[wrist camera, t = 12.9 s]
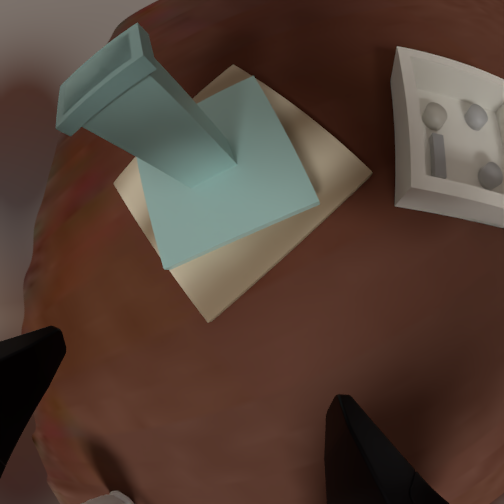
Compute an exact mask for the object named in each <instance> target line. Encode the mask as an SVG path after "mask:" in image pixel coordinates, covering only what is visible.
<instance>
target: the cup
mask: <svg viewBox="0 0 504 504" xmlns="http://www.w3.org/2000/svg"><path fill="white" fill-rule="evenodd" d="M81 504H135V503H134V502H133V501H132V500H131V499H130V498H129V497H127V496H126V495H124V494H122V493H121V492H119V491H111V492H110V495H103V496H100V497H97V498H93V499H91V500H88V501H86V502H84V503H81Z"/></svg>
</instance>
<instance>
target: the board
mask: <svg viewBox="0 0 504 504" xmlns="http://www.w3.org/2000/svg"><path fill="white" fill-rule="evenodd" d="M249 77H252V76H251V75H250V74H248V73H247V72H245V71H244V70H242V69H240V68H239V67H237V66H235V65H234V64H233V65H232V66H230V67H229V68H228V69H227V70H225V71H224V72H223V73H222V74H221V75H219V76H218V77H217V78H216V79H214V80H213V81H212V82H211V83H210V84H209V85H207V86H206V87H205V88H204V89H203V90H202V91H201V92H199V93H198V94H197V95H196V96H195V97H194V98H193V100H194V102H195V103H196V104H197V103H199V102H201V101H203V100H205V99H206V98H208V97H210V96H212V95H214V94H216V93H218V92H220V91H222V90H224V89H226V88H228V87H230V86H232V85H234V84H236V83H238V82H241V81H243V80H245V79H247V78H249ZM256 80H257V82H258V84H259V85H260V87H261V89H262V90H263V92H264V94H265V96H266V97H267V99H268V101H269V103H270V104H271V106H272V108H273V110H274V111H275V113H276V115H277V117H278V119H279V121H280V122H281V124H282V126H283V128H284V130H285V132H286V134H287V136H288V138H289V139H290V141H291V143H292V145H293V147H294V149H295V151H296V153H297V155H298V157H299V159H300V161H301V163H302V165H303V167H304V169H305V171H306V173H307V176H308V178H309V180H310V182H311V184H312V186H313V188H314V190H315V193H316V195H317V197H318V199H319V202H320V205H318V206H315V207H313V208H311V209H308V210H306V211H304V212H301V213H299V214H296V215H294V216H292V217H289V218H287V219H285V220H282V221H280V222H278V223H275V224H273V225H271V226H269V227H266V228H264V229H262V230H259V231H257V232H255V233H252V234H250V235H248V236H246V237H243V238H241V239H239V240H236V241H234V242H232V243H230V244H227V245H225V246H223V247H220V248H218V249H216V250H214V251H211V252H209V253H207V254H205V255H202V256H200V257H198V258H196V259H194V260H191V261H189V262H187V263H185V264H182V265H180V266H178V267H176V268H174V269H171V270H170V272H171V273H172V275H173V276H174V278H175V279H176V280H177V282H178V283H179V284H180V286H181V287H182V289H183V290H184V291H185V293H186V294H187V295H188V297H189V298H190V300H191V301H192V302H193V304H194V305H195V306H196V308H197V309H198V310H199V312H200V313H201V314H202V315H203V317H204V318H205V319H206V321H207V322H208V323H209V322H211V321H213V320H214V319H215V318H216V317H217V316H219V315H220V314H221V313H222V312H223V311H224V310H225V309H227V308H228V307H229V306H230V305H231V304H232V303H233V302H235V301H236V300H237V299H238V298H239V297H240V296H241V295H243V294H244V293H245V292H246V291H247V290H248V289H249V288H250V287H252V286H253V285H254V284H255V283H256V282H257V281H258V280H259V279H261V278H262V277H263V276H264V275H265V274H266V273H267V272H268V271H269V270H271V269H272V268H273V267H274V266H275V265H276V264H277V263H278V262H279V261H281V260H282V259H283V258H284V257H285V256H286V255H287V254H288V253H289V252H290V251H292V250H293V249H294V248H295V247H296V246H297V245H298V244H299V243H300V242H301V241H302V240H304V239H305V238H306V237H307V236H308V235H309V234H310V233H311V232H312V231H313V230H314V229H315V228H317V227H318V226H319V225H320V224H321V223H322V222H323V221H324V220H325V219H326V218H327V217H328V216H329V215H330V214H332V213H333V212H334V211H335V210H336V209H337V208H338V207H339V206H340V205H341V204H342V203H343V202H344V201H345V200H346V199H347V198H348V197H350V196H351V195H352V194H353V193H354V192H355V191H356V190H357V189H358V188H359V187H360V186H361V185H362V184H363V183H364V182H365V181H366V180H367V179H368V178H369V177H370V176H371V175H372V173H373V172H372V171H371V170H370V169H369V168H368V167H367V166H366V165H365V164H364V163H363V162H361V161H360V160H359V159H358V158H357V157H356V156H355V155H354V154H353V153H352V152H351V151H349V150H348V149H347V148H346V147H345V146H344V145H343V144H342V143H340V142H339V141H338V140H337V139H336V138H335V137H334V136H332V135H331V134H330V133H329V132H328V131H326V130H325V129H324V128H323V127H322V126H320V125H319V124H318V123H317V122H315V121H314V120H313V119H312V118H310V117H309V116H308V115H306V114H305V113H304V112H303V111H301V110H300V109H299V108H297V107H296V106H295V105H293V104H292V103H291V102H289V101H288V100H287V99H285V98H284V97H282V96H281V95H280V94H278V93H277V92H275V91H274V90H272V89H271V88H270V87H268V86H267V85H265V84H264V83H262V82H261V81H259V80H258V79H256ZM113 184H114V185H115V187H116V189H117V190H118V192H119V194H120V195H121V197H122V199H123V200H124V202H125V204H126V205H127V207H128V208H129V210H130V212H131V213H132V215H133V216H134V218H135V220H136V221H137V223H138V224H139V226H140V227H141V229H142V230H143V232H144V234H145V235H146V237H147V238H148V240H149V241H150V243H151V244H152V246H153V247H154V249H155V250H156V252H157V253H158V255H159V256H160V254H159V250H158V247H157V243H156V239H155V236H154V232H153V228H152V224H151V220H150V216H149V212H148V208H147V204H146V200H145V196H144V191H143V187H142V182H141V178H140V173H139V168H138V163H137V158H136V157H135V158H134V159H133V160H132V161H131V163H130V164H129V165H128V166H127V167H126V168H125V170H124V171H123V172H122V173H121V175H120V176H119V177H118V178H117V179H116V181H115V182H114V183H113Z"/></svg>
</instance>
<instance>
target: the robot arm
mask: <svg viewBox="0 0 504 504" xmlns="http://www.w3.org/2000/svg"><path fill="white" fill-rule="evenodd" d="M65 354H66V345H65V341H64V338H63V334H62V331H61V330H60V329H59V328H56V327H54V326H48V327H45V328H42V329H39V330H36V331H33V332H29V333H26V334H23V335H20V336H17V337H14V338H11V339H7V340H4V341H1V342H0V478H1V475H2V473H3V471H4V469H5V467H6V466H5V465H6V464H7V462H8V460H9V458H10V456H11V454H12V452H13V450H14V448H15V446H16V444H17V442H18V440H19V438H20V436H21V434H22V432H23V430H24V428H25V427H26V425H27V423H28V421H29V419H30V418H31V416H32V414H33V412H34V411H35V409H36V407H37V406H38V404H39V402H40V400H41V399H42V397H43V395H44V394H45V392H46V391H47V389H48V387H49V385H50V383H51V381H52V379H53V377H54V375H55V373H56V371H57V369H58V367H59V365H60V363H61V361H62V360H63V358H64V356H65ZM324 461H325V477H326V494H327V504H449V503H448V502H447V501H446V500H444V499H443V498H442V497H441V496H440V495H439V494H438V493H437V492H436V491H434V490H433V489H432V488H431V487H430V486H429V485H428V483H427V482H426V481H425V480H424V479H423V478H422V477H421V476H420V475H419V474H418V473H417V472H415V469H414V468H413V467H412V466H411V465H410V464H409V463H408V461H407V460H406V459H405V458H404V457H403V456H402V455H401V454H400V452H399V451H398V450H397V449H396V448H395V447H394V446H393V444H392V443H391V442H390V441H389V440H388V439H387V438H386V436H385V435H384V434H383V433H382V432H381V431H380V429H379V428H378V427H377V426H376V425H375V424H374V423H373V421H372V420H371V419H370V418H369V417H368V416H367V414H366V413H365V412H364V411H363V410H362V409H361V407H360V406H359V405H358V404H357V403H356V402H355V400H354V399H353V398H352V397H351V396H350V395H342V394H338V395H336V396H335V398H334V399H333V401H332V403H331V405H330V407H329V409H328V411H327V414H326V432H325V455H324Z"/></svg>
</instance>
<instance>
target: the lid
mask: <svg viewBox="0 0 504 504" xmlns="http://www.w3.org/2000/svg"><path fill="white" fill-rule="evenodd" d="M81 127H83V128H85V129H87V130H89V131H91V132H93V133H95V134H96V135H98V136H100V137H102V138H104V139H105V140H107V141H109V142H111V143H113V144H114V145H116V146H118V147H120V148H122V149H123V150H125V151H127V152H129V153H130V154H132V155H134V156H136V158H137V163H138V168H139V173H140V178H141V182H142V187H143V191H144V196H145V200H146V204H147V208H148V212H149V216H150V220H151V224H152V228H153V232H154V236H155V239H156V243H157V247H158V250H159V254H160V257H161V261H162V264H163V268H164V269H166V270H171V269H174V268H176V267H178V266H180V265H182V264H185V263H187V262H189V261H191V260H194V259H196V258H198V257H200V256H202V255H205V254H207V253H209V252H211V251H214V250H216V249H218V248H220V247H223V246H225V245H227V244H230V243H232V242H234V241H236V240H239V239H241V238H243V237H246V236H248V235H250V234H252V233H255V232H257V231H259V230H262V229H264V228H266V227H269V226H271V225H273V224H275V223H278V222H280V221H282V220H285V219H287V218H289V217H292V216H294V215H296V214H299V213H301V212H304V211H306V210H308V209H311V208H313V207H315V206H318V205H320V202H319V199H318V197H317V195H316V193H315V190H314V188H313V186H312V184H311V182H310V180H309V178H308V176H307V173H306V171H305V169H304V167H303V165H302V163H301V161H300V159H299V157H298V155H297V153H296V151H295V149H294V147H293V145H292V143H291V141H290V139H289V138H288V136H287V134H286V132H285V130H284V128H283V126H282V124H281V122H280V121H279V119H278V117H277V115H276V113H275V111H274V110H273V108H272V106H271V104H270V103H269V101H268V99H267V97H266V96H265V94H264V92H263V90H262V89H261V87H260V85H259V84H258V82H257V80H256V78H255V77H254V76H252V77H249V78H247V79H245V80H243V81H241V82H238V83H236V84H234V85H232V86H230V87H228V88H226V89H224V90H222V91H220V92H218V93H216V94H214V95H212V96H210V97H208V98H206V99H205V100H203V101H201V102H199V103H197V104H196V103H195V102H194V100H193V99H192V98H191V97H190V96H189V95H188V94H187V93H186V92H185V90H184V89H183V88H182V87H181V86H180V85H179V84H178V83H177V82H176V81H175V79H174V78H173V77H172V76H171V75H170V74H169V73H168V72H167V71H166V70H165V69H164V68H163V67H162V66H161V64H160V63H159V62H158V61H157V60H156V59H155V58H154V55H153V51H152V47H151V43H150V39H149V34H148V33H147V32H146V31H145V30H144V29H143V28H142V27H141V26H140V25H139V24H138V23H136V24H135V25H133V26H132V27H130V28H129V29H127V30H126V31H124V32H123V33H122V34H120V35H119V36H117V37H116V38H115V39H113V40H112V41H111V42H109V43H108V44H107V45H106V46H104V47H103V48H102V49H101V50H99V51H98V52H97V53H96V54H95V55H93V56H92V57H91V58H90V59H89V60H87V61H86V62H85V63H84V64H83V65H82V66H81V67H80V68H79V69H77V70H76V71H75V72H74V73H73V74H72V75H71V76H70V77H69V78H68V79H67V80H66V81H65V82H64V83H63V84H62V85H61V86H60V92H59V100H58V108H57V118H56V129H57V130H59V131H61V132H63V133H65V134H67V135H69V136H72V135H73V134H74V133H75V132H76V131H77V130H78V129H79V128H81Z"/></svg>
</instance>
